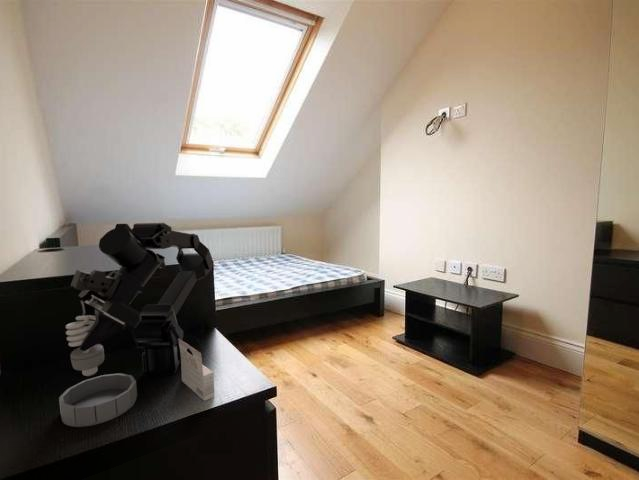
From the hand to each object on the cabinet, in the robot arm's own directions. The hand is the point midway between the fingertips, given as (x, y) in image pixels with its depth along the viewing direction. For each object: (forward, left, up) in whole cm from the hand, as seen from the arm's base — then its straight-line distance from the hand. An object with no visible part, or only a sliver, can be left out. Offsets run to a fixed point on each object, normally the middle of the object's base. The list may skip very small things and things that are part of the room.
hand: (77, 345), depth 66 cm
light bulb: (-1, -1, -7) cm, 7 cm away
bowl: (-3, +1, -12) cm, 12 cm away
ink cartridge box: (-20, -2, -12) cm, 24 cm away
